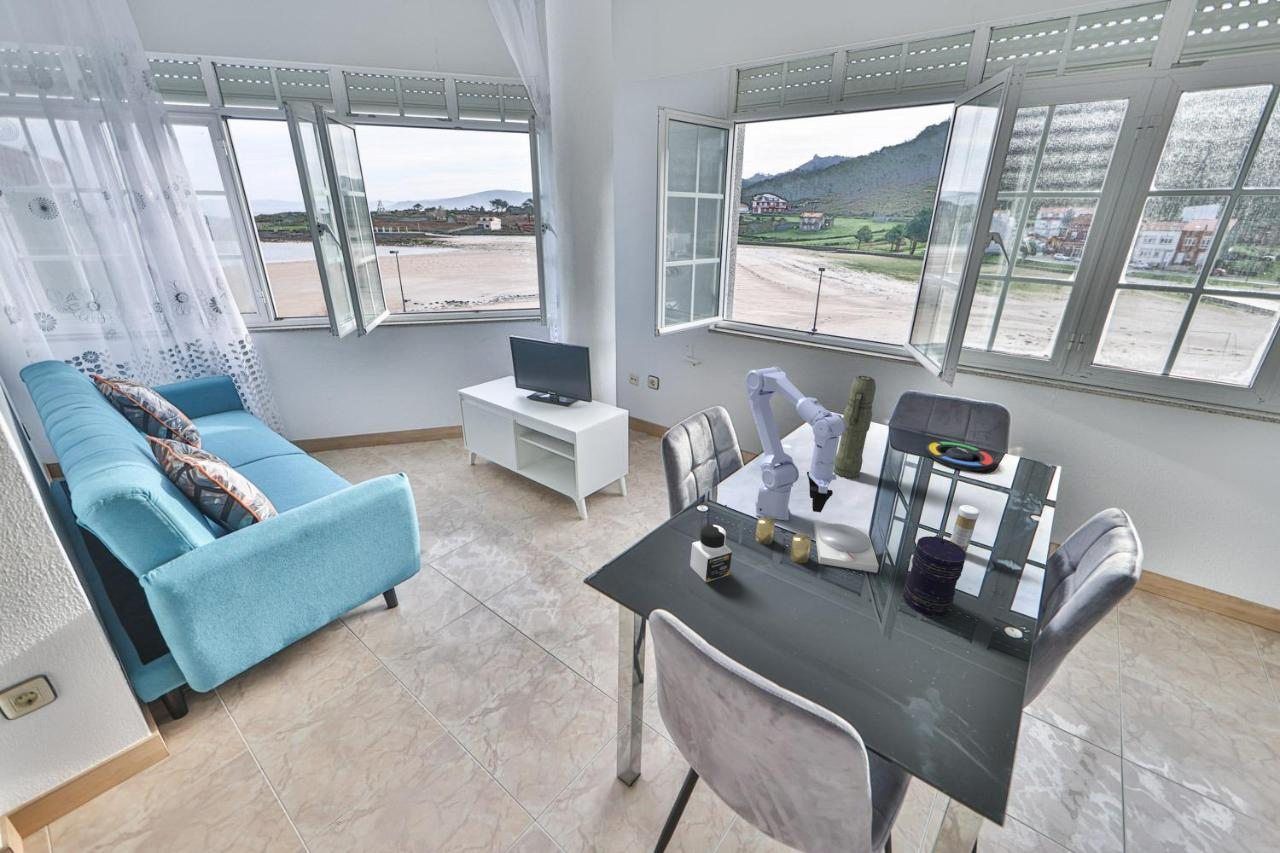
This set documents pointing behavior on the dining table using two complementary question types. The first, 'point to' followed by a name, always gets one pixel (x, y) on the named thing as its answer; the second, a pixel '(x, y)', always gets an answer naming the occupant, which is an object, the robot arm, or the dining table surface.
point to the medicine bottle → (711, 554)
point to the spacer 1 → (765, 530)
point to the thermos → (855, 427)
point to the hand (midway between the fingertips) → (815, 504)
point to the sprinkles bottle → (964, 526)
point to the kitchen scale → (845, 546)
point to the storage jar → (933, 576)
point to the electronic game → (960, 456)
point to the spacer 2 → (800, 548)
